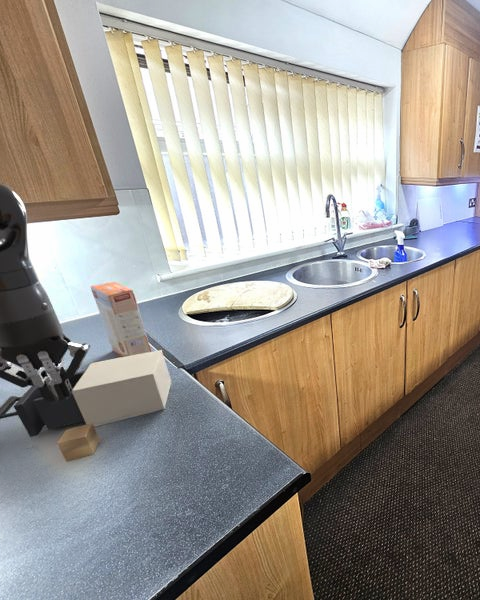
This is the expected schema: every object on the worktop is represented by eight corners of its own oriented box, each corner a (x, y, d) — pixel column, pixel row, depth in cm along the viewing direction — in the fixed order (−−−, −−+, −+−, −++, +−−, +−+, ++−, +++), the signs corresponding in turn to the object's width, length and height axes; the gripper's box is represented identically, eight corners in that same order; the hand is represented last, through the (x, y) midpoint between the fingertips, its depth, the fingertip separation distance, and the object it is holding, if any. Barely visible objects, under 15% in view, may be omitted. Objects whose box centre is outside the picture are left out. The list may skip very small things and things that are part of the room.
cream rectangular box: (88, 428, 69) (71, 391, 66) (104, 397, 79) (91, 362, 75) (164, 409, 75) (153, 373, 71) (171, 382, 84) (161, 349, 81)
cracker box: (154, 355, 96) (133, 289, 89) (130, 365, 92) (106, 295, 84) (135, 342, 104) (114, 280, 96) (112, 350, 99) (88, 285, 91)
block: (65, 461, 61) (56, 443, 60) (74, 446, 64) (65, 429, 63) (93, 454, 63) (85, 436, 61) (100, 440, 66) (92, 422, 64)
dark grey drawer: (-5, 446, 63) (-24, 414, 61) (23, 413, 72) (7, 383, 69) (108, 418, 71) (96, 388, 68) (121, 391, 79) (110, 363, 76)
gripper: (82, 297, 59) (113, 378, 65) (-25, 311, 53) (20, 398, 60) (65, 312, 53) (101, 400, 59) (-59, 329, 47) (-4, 424, 53)
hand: (60, 399), depth 59 cm, fingers closed
